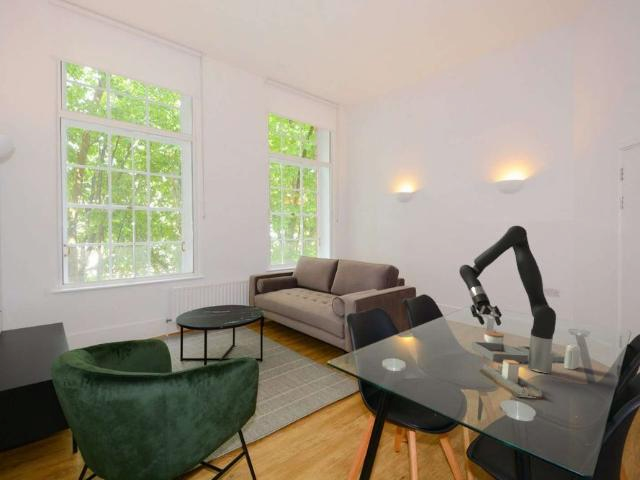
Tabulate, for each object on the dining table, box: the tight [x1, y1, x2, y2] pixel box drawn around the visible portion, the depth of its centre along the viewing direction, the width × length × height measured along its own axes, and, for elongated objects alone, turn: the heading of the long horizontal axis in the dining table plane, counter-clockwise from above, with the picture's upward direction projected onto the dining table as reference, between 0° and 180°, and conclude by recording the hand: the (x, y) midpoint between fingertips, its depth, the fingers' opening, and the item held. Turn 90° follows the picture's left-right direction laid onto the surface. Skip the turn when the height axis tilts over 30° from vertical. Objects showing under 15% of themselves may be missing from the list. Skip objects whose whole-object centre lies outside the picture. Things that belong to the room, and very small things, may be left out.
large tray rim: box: [471, 341, 529, 363], centre depth 186 cm, size 20×20×4 cm
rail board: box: [479, 363, 546, 400], centre depth 146 cm, size 12×26×4 cm, turn 6°
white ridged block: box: [563, 343, 581, 370], centre depth 175 cm, size 10×4×12 cm, turn 123°
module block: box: [502, 360, 520, 384], centre depth 146 cm, size 5×4×9 cm
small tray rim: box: [518, 345, 565, 363], centre depth 191 cm, size 16×16×3 cm
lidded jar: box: [483, 330, 505, 343], centre depth 205 cm, size 11×11×9 cm
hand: (491, 324), depth 162 cm, fingers open, 8 cm apart
